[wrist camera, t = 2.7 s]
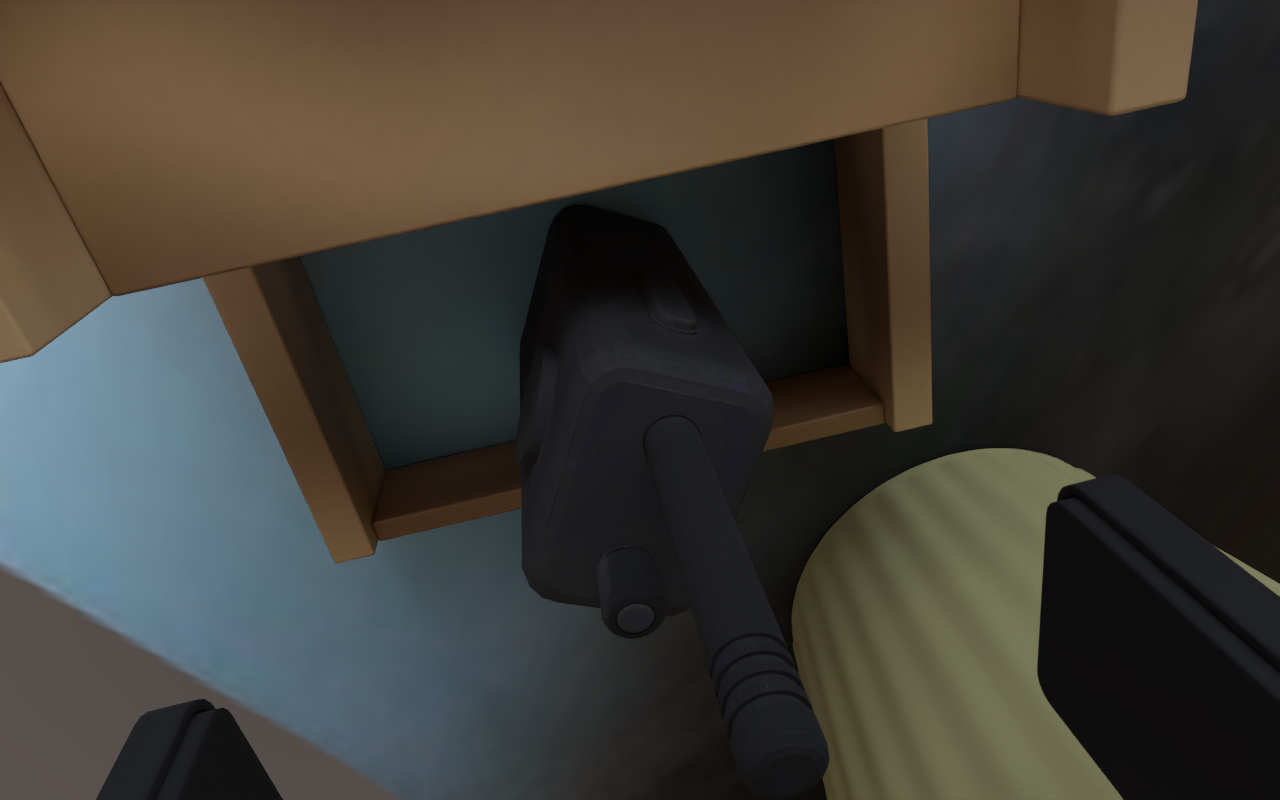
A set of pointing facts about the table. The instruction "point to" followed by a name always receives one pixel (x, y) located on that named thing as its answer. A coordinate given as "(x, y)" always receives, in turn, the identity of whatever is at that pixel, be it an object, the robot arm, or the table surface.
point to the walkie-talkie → (655, 473)
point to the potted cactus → (941, 637)
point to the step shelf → (495, 168)
